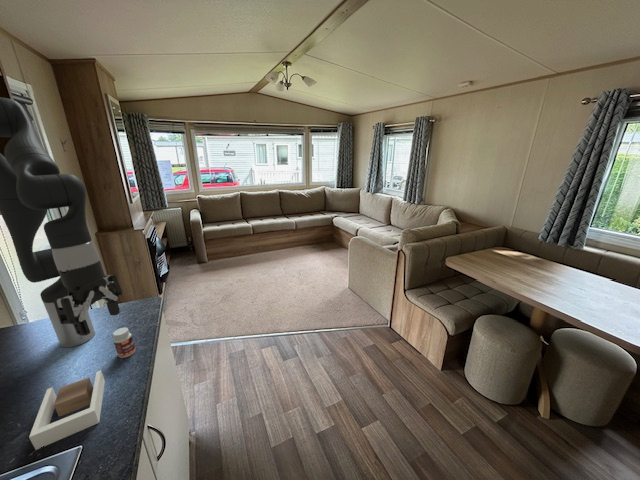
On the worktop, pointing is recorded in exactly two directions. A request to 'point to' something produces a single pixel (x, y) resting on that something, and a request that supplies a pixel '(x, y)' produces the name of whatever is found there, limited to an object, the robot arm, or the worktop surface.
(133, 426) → the worktop surface
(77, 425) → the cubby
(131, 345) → the pill bottle
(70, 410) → the walnut block
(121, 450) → the worktop surface
